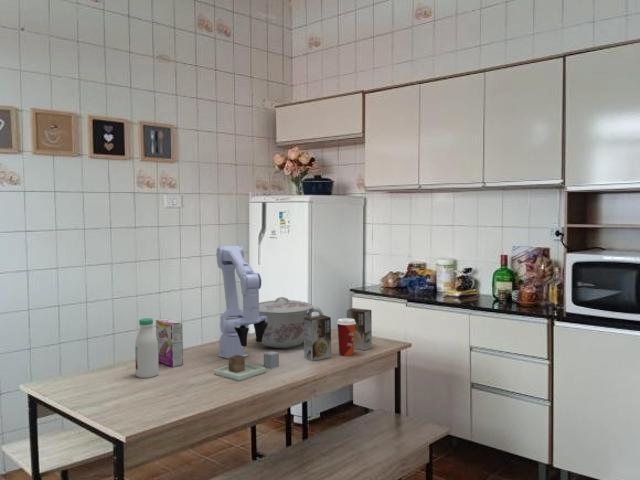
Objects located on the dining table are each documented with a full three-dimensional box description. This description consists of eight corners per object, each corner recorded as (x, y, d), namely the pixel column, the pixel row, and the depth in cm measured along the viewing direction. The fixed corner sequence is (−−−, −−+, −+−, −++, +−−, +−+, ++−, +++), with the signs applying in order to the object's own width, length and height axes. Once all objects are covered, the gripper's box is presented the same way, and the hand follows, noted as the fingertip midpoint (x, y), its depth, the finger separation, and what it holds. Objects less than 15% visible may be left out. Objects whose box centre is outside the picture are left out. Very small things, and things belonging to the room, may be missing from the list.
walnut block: (228, 370, 203) (228, 357, 203) (237, 368, 207) (236, 354, 206) (236, 372, 201) (236, 358, 201) (244, 370, 204) (244, 356, 204)
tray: (213, 374, 201) (213, 369, 201) (240, 366, 211) (240, 361, 211) (239, 381, 193) (239, 376, 193) (265, 372, 203) (265, 367, 203)
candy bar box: (155, 362, 217) (155, 319, 216) (167, 359, 221) (166, 318, 220) (172, 367, 209) (171, 323, 209) (183, 365, 213) (182, 321, 212)
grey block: (263, 366, 211) (263, 353, 210) (271, 364, 214) (270, 351, 213) (271, 368, 208) (271, 355, 208) (278, 366, 211) (278, 352, 211)
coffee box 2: (372, 347, 238) (372, 309, 237) (365, 350, 233) (365, 312, 232) (353, 344, 243) (353, 307, 243) (346, 347, 238) (345, 309, 237)
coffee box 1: (322, 354, 228) (322, 314, 227) (331, 357, 223) (331, 316, 222) (303, 357, 223) (303, 316, 222) (312, 361, 218) (312, 319, 217)
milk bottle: (163, 373, 203) (161, 317, 202) (149, 379, 196) (148, 321, 194) (144, 371, 205) (143, 316, 204) (131, 377, 198) (129, 320, 197)
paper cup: (354, 357, 223) (354, 322, 222) (335, 356, 225) (335, 321, 224) (357, 352, 231) (357, 318, 230) (338, 351, 232) (338, 317, 231)
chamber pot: (236, 345, 243) (235, 297, 242) (282, 334, 263) (281, 290, 262) (283, 356, 224) (282, 304, 223) (328, 344, 245) (327, 296, 244)
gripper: (243, 311, 198) (244, 349, 198) (273, 305, 209) (273, 341, 209) (230, 308, 202) (230, 346, 203) (259, 303, 213) (259, 339, 214)
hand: (251, 343), depth 206 cm, fingers open, 7 cm apart
